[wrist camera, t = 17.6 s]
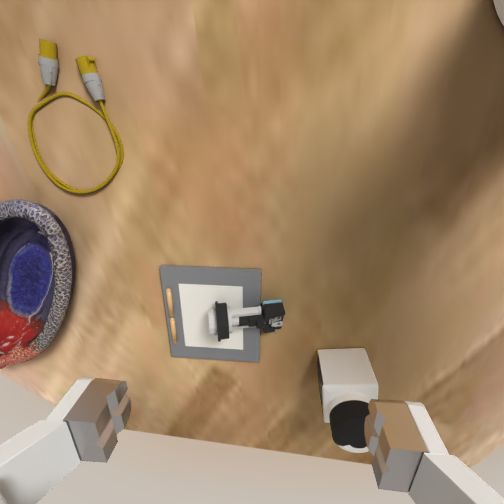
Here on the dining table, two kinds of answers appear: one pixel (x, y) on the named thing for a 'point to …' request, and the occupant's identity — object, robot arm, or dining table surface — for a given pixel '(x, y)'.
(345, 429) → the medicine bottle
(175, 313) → the grey board
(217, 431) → the dining table surface
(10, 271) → the dish
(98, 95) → the extension cord
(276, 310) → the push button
